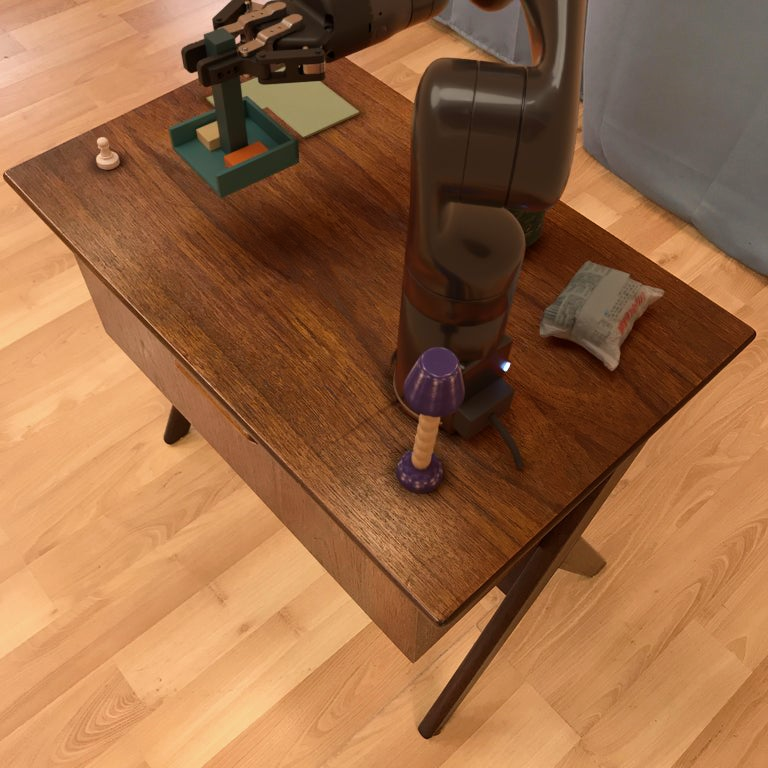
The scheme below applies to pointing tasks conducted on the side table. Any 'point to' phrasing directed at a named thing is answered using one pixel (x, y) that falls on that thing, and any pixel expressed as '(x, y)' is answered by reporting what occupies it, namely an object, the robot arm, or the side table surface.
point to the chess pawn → (106, 155)
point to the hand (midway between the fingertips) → (192, 68)
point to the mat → (300, 104)
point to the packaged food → (598, 310)
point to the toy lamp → (429, 415)
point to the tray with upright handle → (233, 134)
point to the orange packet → (244, 154)
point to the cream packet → (209, 136)
